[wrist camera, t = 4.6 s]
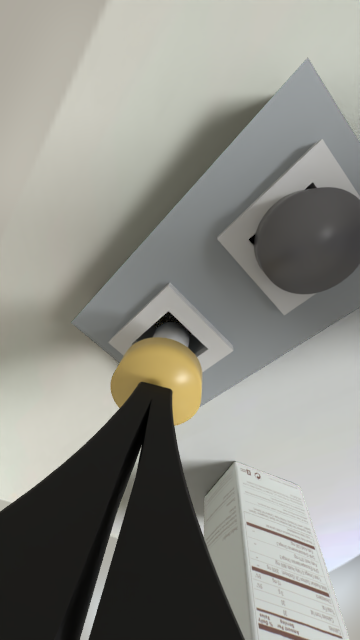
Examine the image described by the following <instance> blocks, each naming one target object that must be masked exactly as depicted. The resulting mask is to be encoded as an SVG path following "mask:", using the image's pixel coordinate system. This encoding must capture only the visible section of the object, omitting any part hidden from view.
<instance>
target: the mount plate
mask: <svg viewBox="0 0 360 640" xmlns="http://www.w3.org/2000/svg"><path fill="white" fill-rule="evenodd" d="M321 187H334V188H339V189H343V190H346V191H348V192H350V193H352V194H353V195H355V196H356V197H357V198H358V199H360V142H359V140H358V139H357V137H356V135H355V134H354V132H353V130H352V129H351V127H350V126H349V124H348V122H347V121H346V119H345V117H344V116H343V114H342V113H341V111H340V109H339V108H338V106H337V104H336V103H335V101H334V99H333V98H332V96H331V95H330V93H329V91H328V90H327V88H326V86H325V85H324V83H323V82H322V80H321V78H320V77H319V75H318V73H317V72H316V70H315V68H314V67H313V65H312V64H311V62H310V60H309V59H308V58H307V59H306V60H305V61H304V62H303V63H302V64H301V65H300V67H299V68H298V69H297V70H296V71H295V72H294V73H293V74H292V76H291V77H290V78H289V79H288V80H287V81H286V82H285V83H284V85H283V86H282V87H281V88H280V89H279V90H278V91H277V92H276V93H275V95H274V96H273V97H272V98H271V99H270V100H269V101H268V102H267V104H266V105H265V106H264V107H263V108H262V109H261V110H260V111H259V112H258V114H257V115H256V116H255V117H254V118H253V119H252V120H251V121H250V123H249V124H248V125H247V126H246V127H245V128H244V129H243V130H242V132H241V133H240V134H239V135H238V136H237V137H236V138H235V139H234V140H233V142H232V143H231V144H230V145H229V146H228V147H227V148H226V149H225V151H224V152H223V153H222V154H221V155H220V156H219V157H218V158H217V160H216V161H215V162H214V163H213V164H212V165H211V166H210V167H209V168H208V170H207V171H206V172H205V173H204V174H203V175H202V176H201V177H200V179H199V180H198V181H197V182H196V183H195V184H194V185H193V186H192V188H191V189H190V190H189V191H188V192H187V193H186V194H185V195H184V196H183V198H182V199H181V200H180V201H179V202H178V203H177V204H176V205H175V207H174V208H173V209H172V210H171V211H170V212H169V213H168V214H167V215H166V217H165V218H164V219H163V220H162V221H161V222H160V223H159V224H158V226H157V227H156V228H155V229H154V230H153V231H152V232H151V233H150V235H149V236H148V237H147V238H146V239H145V240H144V241H143V242H142V243H141V245H140V246H139V247H138V248H137V249H136V250H135V251H134V252H133V254H132V255H131V256H130V257H129V258H128V259H127V260H126V261H125V263H124V264H123V265H122V266H121V267H120V268H119V269H118V270H117V271H116V273H115V274H114V275H113V276H112V277H111V278H110V279H109V280H108V282H107V283H106V284H105V285H104V286H103V287H102V288H101V289H100V290H99V292H98V293H97V294H96V295H95V296H94V297H93V298H92V299H91V301H90V302H89V303H88V304H87V305H86V306H85V307H84V308H83V310H82V311H81V312H80V313H79V314H78V315H77V316H76V317H75V318H74V320H73V321H72V322H71V323H72V324H73V325H74V326H76V327H77V328H78V329H79V330H80V331H82V332H83V333H84V334H85V335H86V336H88V337H89V338H90V339H91V340H92V341H94V342H95V343H96V344H97V345H98V346H100V347H101V348H102V349H103V350H104V351H106V352H107V353H108V354H109V355H111V356H112V357H113V358H114V359H115V360H117V361H118V362H119V363H120V362H121V360H122V358H123V356H124V355H125V353H126V352H127V350H128V349H129V348H130V347H131V346H132V345H133V344H135V343H136V342H138V341H140V340H143V339H147V338H152V337H153V335H154V333H155V331H156V329H157V328H156V327H155V326H154V325H153V324H154V323H156V322H157V321H158V320H159V319H160V318H161V317H162V316H163V315H164V314H166V313H167V312H168V311H169V312H170V313H171V314H172V315H173V316H174V317H175V318H176V319H177V320H179V321H180V322H181V323H182V324H183V325H184V326H185V327H186V328H187V329H188V330H189V331H190V332H191V333H192V335H191V336H190V337H189V346H188V348H189V349H190V350H191V351H192V352H193V353H194V354H195V355H196V357H197V358H198V360H199V362H200V364H201V367H202V394H201V403H200V406H202V405H204V404H205V403H207V402H208V401H210V400H212V399H213V398H215V397H217V396H218V395H220V394H221V393H223V392H225V391H226V390H228V389H229V388H231V387H233V386H234V385H236V384H237V383H239V382H241V381H242V380H244V379H245V378H247V377H249V376H250V375H252V374H253V373H255V372H257V371H258V370H260V369H261V368H263V367H265V366H266V365H268V364H269V363H271V362H273V361H274V360H276V359H277V358H279V357H281V356H282V355H284V354H285V353H287V352H289V351H290V350H292V349H293V348H295V347H297V346H298V345H300V344H302V343H303V342H305V341H306V340H308V339H310V338H311V337H313V336H314V335H316V334H318V333H319V332H321V331H322V330H324V329H326V328H327V327H329V326H330V325H332V324H334V323H335V322H337V321H338V320H340V319H342V318H343V317H345V316H346V315H348V314H350V313H351V312H353V311H354V310H356V309H358V308H359V307H360V264H359V266H358V267H357V268H356V269H355V270H354V272H353V273H352V274H351V275H349V276H348V277H347V278H346V279H345V280H343V281H342V282H341V283H339V284H337V285H336V286H334V287H332V288H330V289H328V290H325V291H322V292H318V293H314V294H294V293H290V292H287V291H284V290H282V289H281V288H279V287H277V286H276V285H275V284H273V283H272V282H271V281H270V279H269V278H268V277H267V276H266V274H265V273H264V272H263V270H262V269H261V268H260V266H259V264H258V262H257V260H256V257H255V252H254V246H253V244H252V243H251V242H250V241H249V239H250V238H251V237H252V236H253V235H254V234H255V233H256V231H257V228H258V226H259V223H260V221H261V220H262V218H263V216H264V215H265V214H266V212H267V211H268V210H269V209H270V208H271V207H272V206H273V205H274V204H275V203H276V202H278V201H279V200H280V199H282V198H284V197H285V196H287V195H289V194H292V193H294V192H297V191H302V190H307V189H314V188H321ZM200 406H199V407H200Z"/></svg>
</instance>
